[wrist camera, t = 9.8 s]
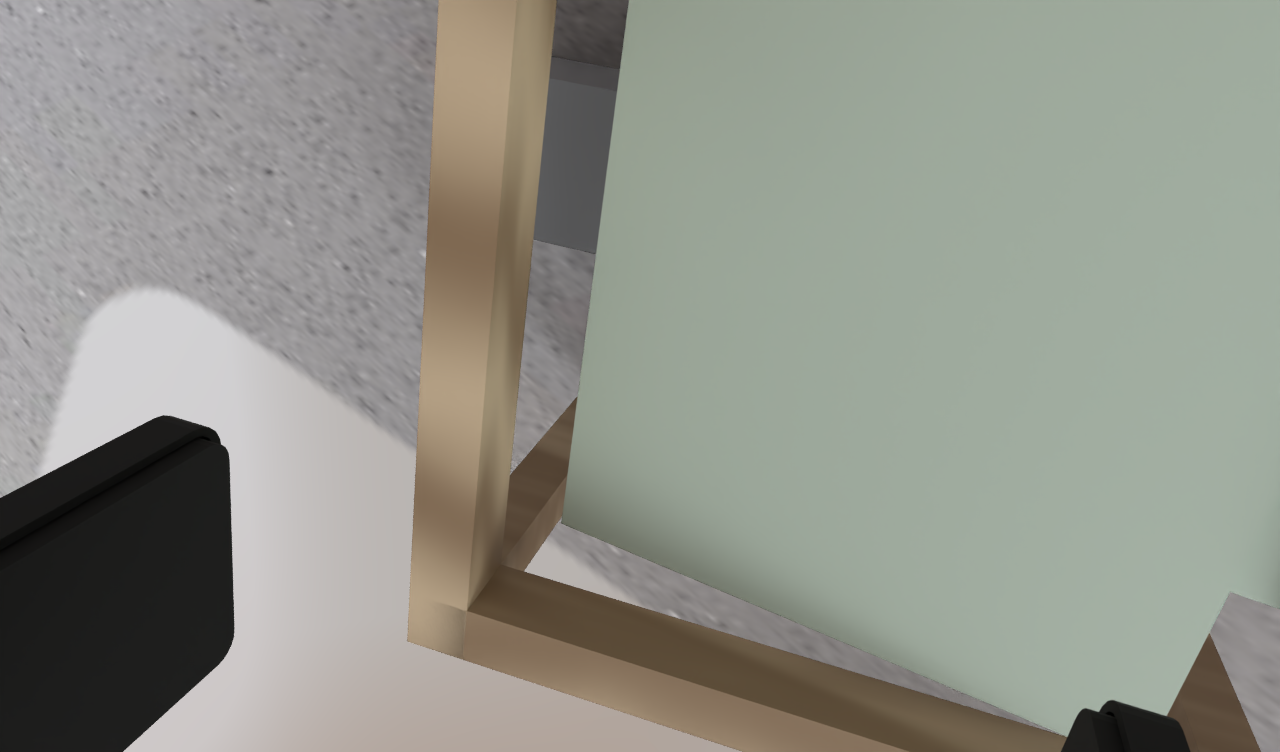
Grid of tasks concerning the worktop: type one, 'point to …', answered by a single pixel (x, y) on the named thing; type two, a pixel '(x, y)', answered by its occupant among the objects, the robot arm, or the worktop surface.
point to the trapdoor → (947, 329)
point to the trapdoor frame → (534, 493)
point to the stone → (575, 153)
